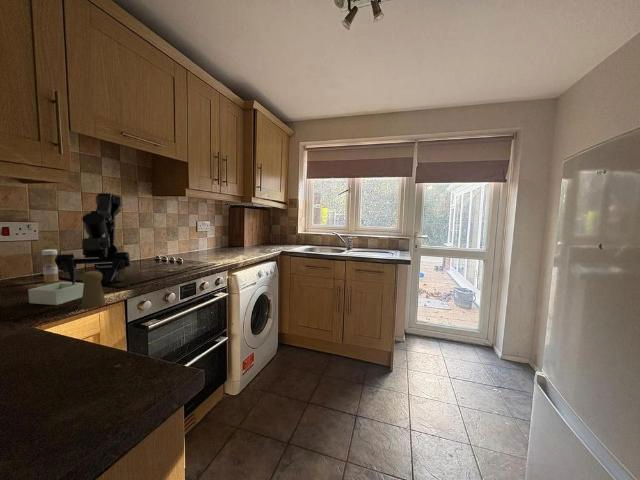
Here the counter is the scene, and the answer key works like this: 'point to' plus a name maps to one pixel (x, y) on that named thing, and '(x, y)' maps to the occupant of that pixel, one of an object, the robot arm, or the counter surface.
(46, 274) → the sprinkles bottle
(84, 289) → the cork
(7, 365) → the counter surface
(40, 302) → the end cap socket
